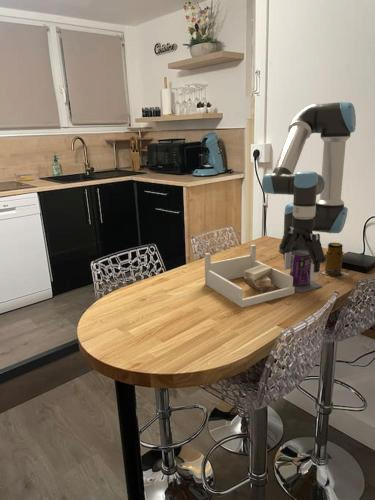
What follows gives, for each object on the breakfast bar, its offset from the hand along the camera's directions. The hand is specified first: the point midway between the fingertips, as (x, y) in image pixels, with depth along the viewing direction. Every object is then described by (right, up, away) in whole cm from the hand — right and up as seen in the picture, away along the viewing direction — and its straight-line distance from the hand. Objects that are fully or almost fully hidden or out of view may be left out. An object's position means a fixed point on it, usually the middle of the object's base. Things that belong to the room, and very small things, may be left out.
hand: (300, 274), depth 139 cm
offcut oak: (-15, -3, +1) cm, 15 cm away
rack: (-19, -5, -1) cm, 20 cm away
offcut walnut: (-15, -5, +2) cm, 15 cm away
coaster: (0, -4, +1) cm, 4 cm away
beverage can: (0, -4, +1) cm, 4 cm away
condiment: (+17, -1, +12) cm, 21 cm away
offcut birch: (-15, 0, 0) cm, 15 cm away
